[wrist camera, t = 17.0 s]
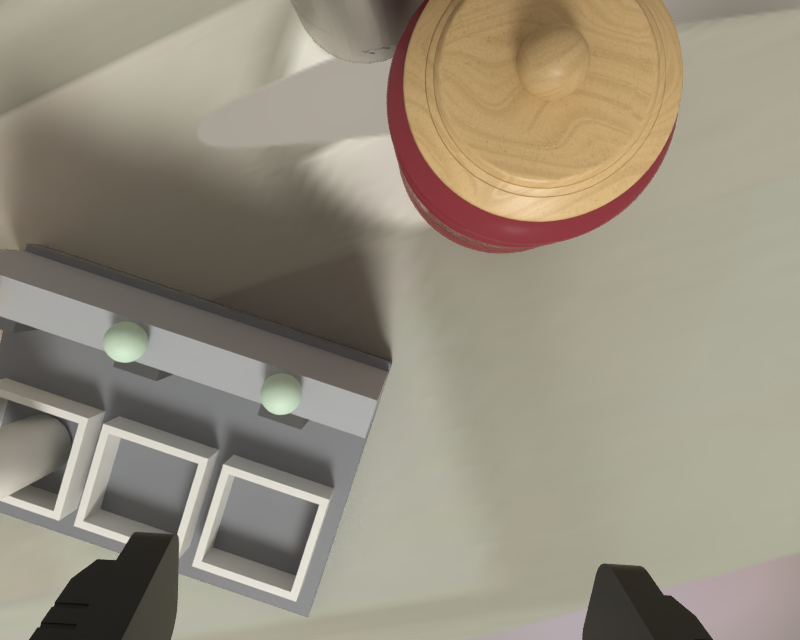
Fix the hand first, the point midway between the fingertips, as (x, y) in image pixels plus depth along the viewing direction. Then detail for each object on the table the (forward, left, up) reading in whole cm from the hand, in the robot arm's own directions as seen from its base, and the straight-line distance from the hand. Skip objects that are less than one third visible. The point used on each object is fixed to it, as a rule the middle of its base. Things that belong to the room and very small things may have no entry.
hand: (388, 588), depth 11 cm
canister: (-10, +11, -29) cm, 32 cm away
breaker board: (-3, -16, -28) cm, 33 cm away
